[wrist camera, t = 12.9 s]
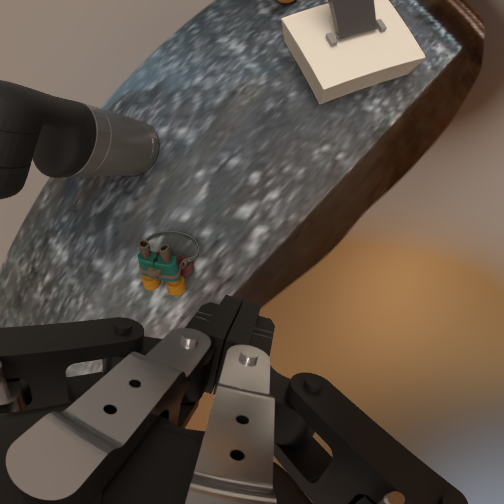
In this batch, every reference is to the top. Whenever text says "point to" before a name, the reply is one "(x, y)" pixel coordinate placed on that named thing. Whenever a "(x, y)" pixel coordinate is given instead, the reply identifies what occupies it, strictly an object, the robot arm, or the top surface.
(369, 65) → the breaker housing
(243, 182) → the top surface
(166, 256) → the binoculars
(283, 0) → the figurine
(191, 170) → the top surface
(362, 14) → the handle
